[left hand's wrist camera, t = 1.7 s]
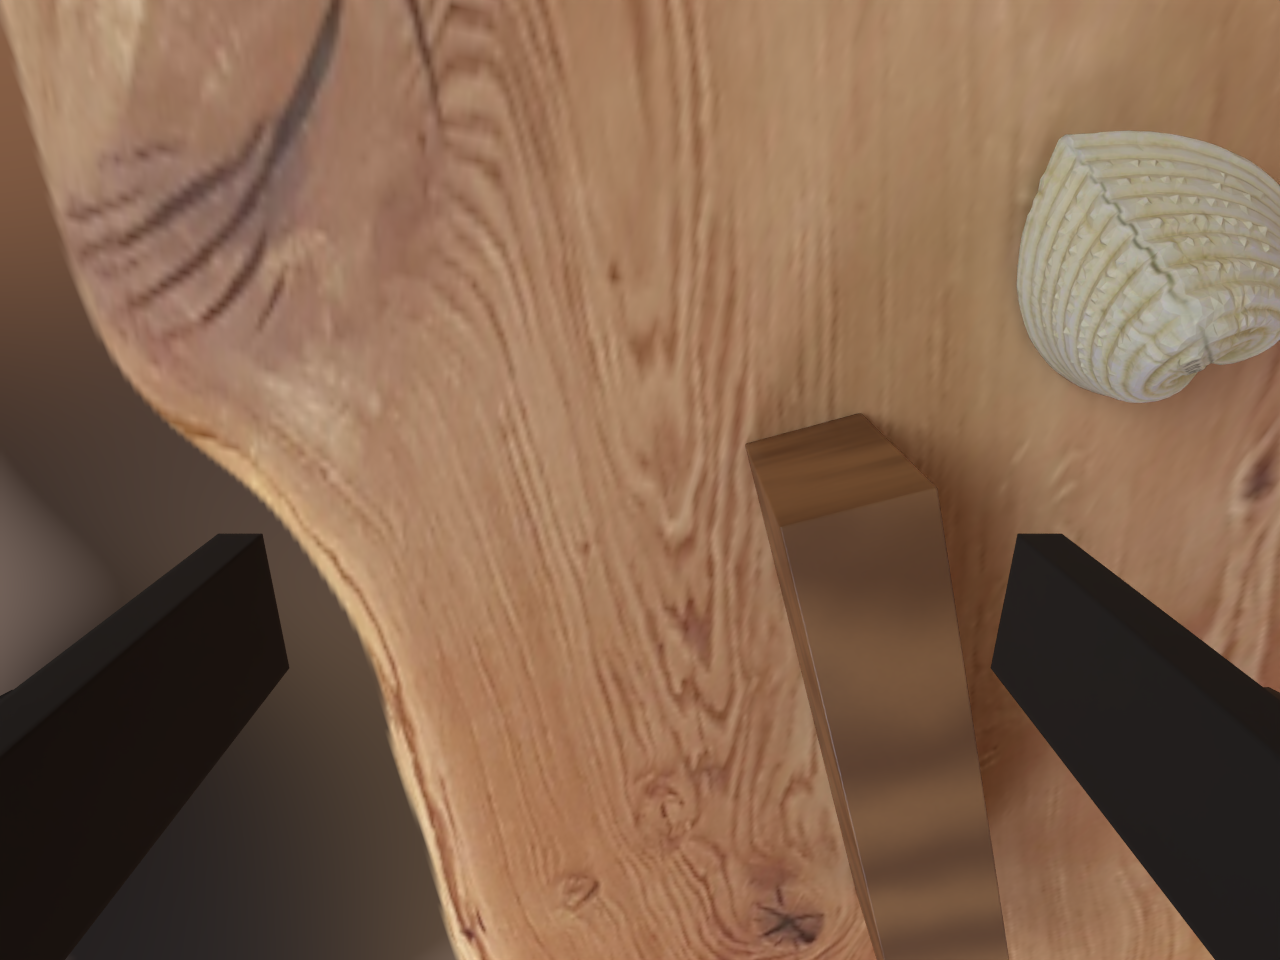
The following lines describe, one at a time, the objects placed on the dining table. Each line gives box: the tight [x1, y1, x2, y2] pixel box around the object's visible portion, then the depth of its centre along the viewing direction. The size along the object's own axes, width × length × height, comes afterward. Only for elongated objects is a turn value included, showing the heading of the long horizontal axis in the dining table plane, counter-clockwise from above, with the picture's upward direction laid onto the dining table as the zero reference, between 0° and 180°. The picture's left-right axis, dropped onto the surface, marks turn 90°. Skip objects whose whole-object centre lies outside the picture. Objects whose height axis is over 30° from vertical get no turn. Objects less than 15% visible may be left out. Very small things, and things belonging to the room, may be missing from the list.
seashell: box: [1017, 131, 1280, 403], centre depth 24 cm, size 8×8×8 cm
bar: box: [745, 413, 1009, 960], centre depth 29 cm, size 26×5×8 cm, turn 16°
